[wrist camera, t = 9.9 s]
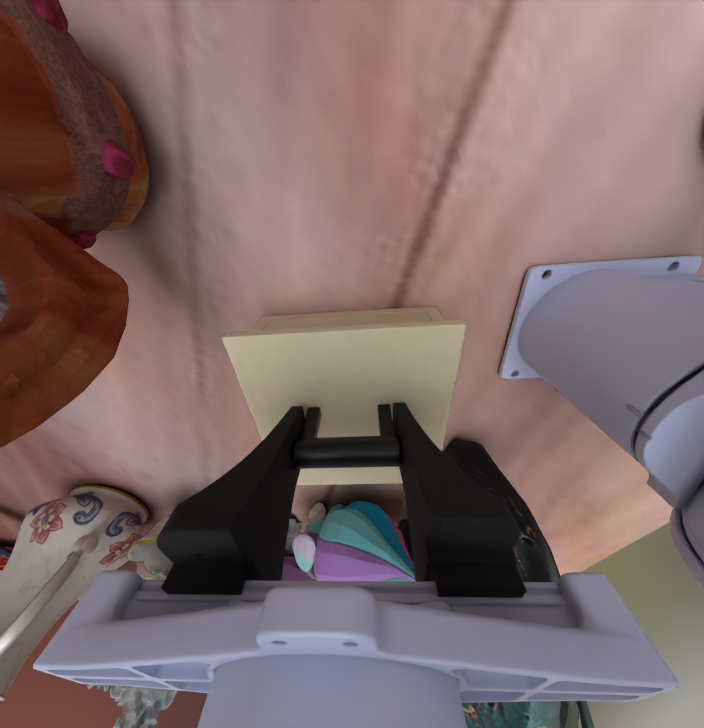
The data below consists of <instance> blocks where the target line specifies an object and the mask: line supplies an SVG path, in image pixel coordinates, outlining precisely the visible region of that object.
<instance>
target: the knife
mask: <svg viewBox="0 0 704 728" xmlns="http://www.w3.org/2000/svg"><path fill="white" fill-rule="evenodd" d="M0 554H1V555H3V556H5V557H7V558H10V556H11V554H12V551H11V550H9V549H7V548H5V547H3V546H1V545H0Z"/></svg>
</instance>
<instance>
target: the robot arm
mask: <svg viewBox="0 0 704 728" xmlns="http://www.w3.org/2000/svg"><path fill="white" fill-rule="evenodd" d="M701 263H702V258H701V257H700V256H695V255H683V256H668V257H653V258H638V259H623V260H608V261H593V262H578V263H563V264H548V265H536V266H533V267H531V268H530V269H529V270H528V271H527V273H526V275H525V279H524V283H523V286H522V290H521V293H520V297H519V301H518V304H517V308H516V311H515V315H514V319H513V322H512V326H511V330H510V333H509V337H508V340H507V344H506V348H505V351H504V355H503V358H502V362H501V366H500V369H499V375H500V377H501V378H503V379H527V378H544V379H545V380H546V381H547V382H548V383H549V384H550V385H552V386H553V387H554V388H555V389H556V390H557V391H558V392H559V393H561V394H562V395H563V396H564V397H565V398H566V399H567V400H569V401H570V402H571V403H572V404H573V405H574V406H575V407H576V408H578V409H579V410H580V411H581V412H582V413H583V414H584V415H586V416H587V417H588V418H589V419H590V420H591V421H592V422H593V423H595V424H596V425H597V426H598V427H599V428H600V429H601V430H603V431H604V432H605V433H606V434H607V435H608V436H609V437H610V438H612V439H613V440H614V441H615V442H616V443H617V444H618V445H620V446H621V447H622V448H623V449H624V450H625V451H626V452H628V453H629V454H630V455H631V456H632V457H633V458H634V459H635V460H637V461H638V462H639V463H640V464H641V465H642V466H643V467H644V468H645V469H646V470H647V471H648V472H649V479H648V481H647V484H648V485H649V486H650V487H651V488H653V489H654V490H655V491H656V492H657V493H658V494H659V495H660V496H661V497H662V498H663V499H664V500H665V501H666V502H668V503H669V504H670V505H671V506H672V507H673V508H674V509H673V510H672V513H671V517H670V530H671V534H672V538H673V541H674V544H675V546H676V548H677V549H678V552H679V553H680V555H681V557H682V559H683V560H684V562H685V563H686V565H687V566H688V567H689V569H690V570H691V572H692V573H693V574H694V576H695V577H696V578H697V579H698V580H699V582H700V583H701V584H702V585H703V586H704V277H702V276H696V275H695V273H696V272H697V270H698V268H699V267H700V265H701ZM670 264H671V266H670ZM669 266H670V267H669ZM668 267H669V268H668ZM546 270H547V274H546V276H544V277H542V274H543V272H545V271H546ZM514 371H515V373H513V374H512V372H514ZM304 422H305V415H304V410H303V406H292V407H291V408H290V409H289V410H288V411H287V413H286V414H285V415H284V416H283V418H282V419H281V420H280V421H279V423H278V424H277V425H276V426H275V427H274V428H273V430H272V431H271V432H270V433H269V434H268V435H267V437H266V438H265V439H264V440H263V441H262V442H261V443H260V444H259V445H258V446H257V447H256V448H255V449H254V450H253V451H252V452H251V453H250V454H249V455H248V456H247V457H245V458H244V459H243V460H242V461H241V462H240V463H239V464H237V465H236V466H235V467H234V468H232V469H231V470H230V471H228V472H227V473H226V474H225V475H223V476H222V477H221V478H219V479H218V480H216V481H215V482H214V483H212V484H211V485H209V486H208V487H206V488H205V489H203V490H202V491H200V492H198V493H197V494H195V495H194V496H192V497H190V498H189V499H187V500H185V501H184V502H182V503H180V504H178V505H177V507H176V508H175V510H174V511H173V513H172V514H171V516H170V517H169V519H168V520H167V522H166V524H165V525H164V527H163V529H162V530H161V532H160V533H159V535H158V537H157V539H156V544H157V547H158V548H159V549H160V551H161V552H162V553H163V554H164V555H165V556H166V557H167V558H168V559H169V560H170V561H171V562H172V563H173V566H172V567H171V569H170V571H169V573H168V575H167V577H166V579H165V580H143V579H142V577H141V576H140V575H139V574H137V573H135V572H132V571H126V570H104V571H102V572H100V573H99V575H98V576H97V578H96V579H95V580H94V582H93V583H92V584H91V586H90V587H89V589H88V590H87V591H86V593H85V594H84V595H83V597H82V598H81V600H80V601H79V602H78V604H77V605H76V606H75V608H74V609H73V611H72V612H71V613H70V615H69V616H68V618H67V619H66V620H65V622H64V623H63V624H62V626H61V627H60V629H59V630H58V631H57V633H56V634H55V635H54V637H53V638H52V640H51V641H50V642H49V644H48V645H47V646H46V648H45V649H44V651H43V652H42V653H41V655H40V656H39V657H38V659H37V660H36V662H35V663H34V664H33V668H34V669H36V670H40V671H43V672H46V673H49V674H53V675H56V676H59V677H62V678H65V679H68V680H72V681H75V682H78V683H81V684H100V685H119V686H134V687H146V688H158V689H169V690H181V691H192V692H203V693H208V696H207V699H206V702H205V705H204V708H203V712H202V715H201V718H200V721H199V725H198V727H197V728H467V725H466V721H465V716H464V711H463V706H462V703H476V702H524V701H628V702H633V701H637V700H640V699H643V698H646V697H649V696H652V695H656V694H659V693H662V692H666V691H668V690H672V689H675V688H679V684H680V683H679V682H678V680H677V679H676V677H675V676H674V674H673V673H672V671H671V670H670V668H669V667H668V665H667V664H666V663H665V661H664V660H663V659H662V657H661V655H660V654H659V652H658V651H657V649H656V648H655V647H654V645H653V644H652V642H651V641H650V639H649V638H648V636H647V635H646V633H645V632H644V630H643V629H642V627H641V626H640V624H639V623H638V622H637V620H636V619H635V617H634V616H633V614H632V613H631V611H630V610H629V608H628V607H627V605H626V604H625V603H624V601H623V600H622V598H621V597H620V595H619V594H618V592H617V591H616V589H615V588H614V587H613V585H612V583H611V582H610V581H609V579H608V578H607V576H606V575H605V574H603V573H594V572H593V573H592V572H591V573H589V572H573V573H566V574H563V575H562V576H560V577H559V579H558V581H557V582H523V581H522V579H521V576H520V574H519V572H518V570H517V567H516V565H517V559H516V557H515V555H514V553H513V551H512V550H513V548H514V546H515V545H516V543H517V541H518V539H519V537H520V533H521V532H520V529H519V527H518V525H517V523H516V521H515V519H514V517H513V515H512V514H511V512H510V511H509V509H508V508H507V506H506V505H505V503H504V502H503V501H502V500H501V499H499V498H498V497H496V496H495V495H493V494H492V493H490V492H489V491H488V490H486V489H485V488H483V487H482V486H480V485H479V484H478V483H476V482H475V481H474V480H473V479H471V478H470V477H469V476H468V475H467V474H465V473H464V472H463V471H462V470H461V469H459V468H458V467H457V466H456V465H455V464H454V463H453V462H452V461H451V460H450V459H449V458H447V457H446V456H445V455H444V453H443V452H442V451H441V450H440V449H439V448H438V447H437V446H436V445H435V444H434V443H433V441H432V440H431V439H430V438H429V437H428V435H427V434H426V433H425V432H424V430H423V429H422V428H421V426H420V425H419V424H418V422H417V421H416V419H415V418H414V416H413V415H412V413H411V412H410V410H409V408H408V406H407V404H406V403H404V402H402V403H393V428H394V434H395V435H397V436H398V437H399V440H400V446H401V466H399V469H400V473H401V478H402V482H403V487H404V492H405V499H406V506H407V514H408V521H409V529H410V537H411V546H412V554H413V563H414V572H415V581H416V582H405V581H282V572H283V564H284V555H285V548H286V541H287V533H288V527H289V521H290V514H291V508H292V502H293V497H294V492H295V488H296V484H297V480H298V477H299V473H300V469H295V468H294V467H293V463H292V448H293V444H294V441H295V439H297V438H301V434H302V430H303V426H304Z"/></svg>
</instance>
